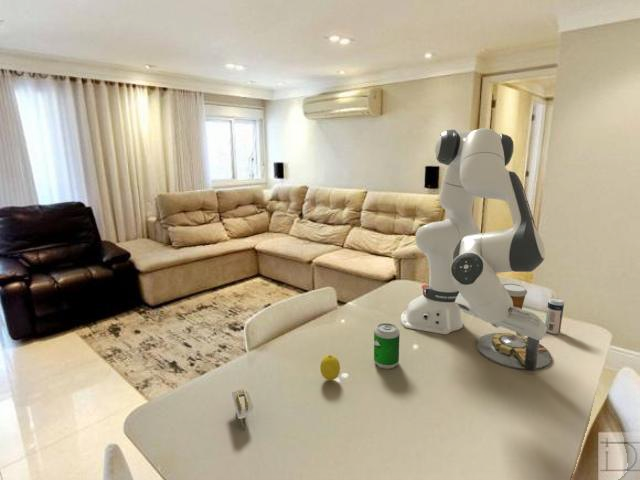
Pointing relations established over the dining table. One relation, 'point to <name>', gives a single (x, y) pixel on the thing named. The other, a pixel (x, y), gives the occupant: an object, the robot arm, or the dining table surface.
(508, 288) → the disposable coffee cup
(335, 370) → the lemon
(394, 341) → the soda can
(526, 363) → the tan handled ring
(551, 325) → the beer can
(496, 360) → the flange
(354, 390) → the dining table surface
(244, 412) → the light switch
